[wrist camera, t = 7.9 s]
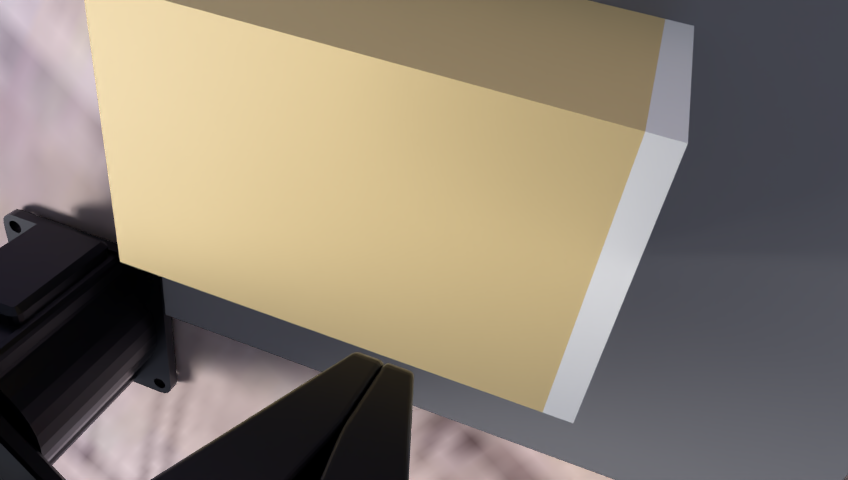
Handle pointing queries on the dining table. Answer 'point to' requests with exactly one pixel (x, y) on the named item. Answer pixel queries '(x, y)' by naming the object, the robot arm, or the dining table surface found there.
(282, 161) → the pale yellow block
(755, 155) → the charcoal mat
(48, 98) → the dining table surface
